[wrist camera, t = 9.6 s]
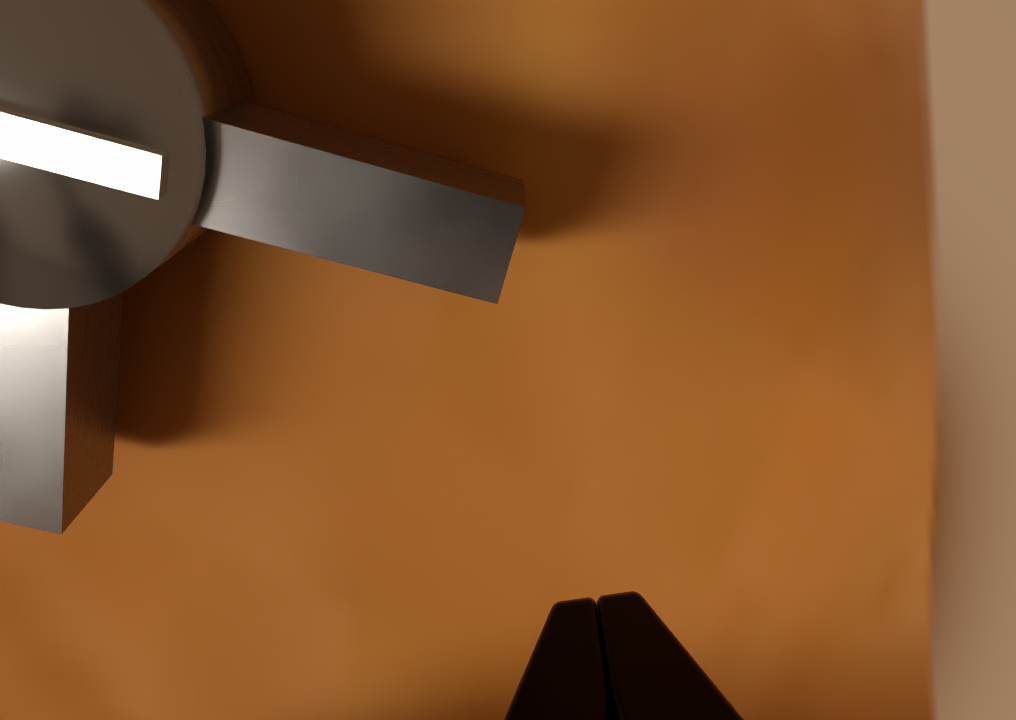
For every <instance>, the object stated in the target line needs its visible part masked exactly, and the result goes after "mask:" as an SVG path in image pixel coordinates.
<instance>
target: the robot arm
mask: <svg viewBox="0 0 1016 720" xmlns="http://www.w3.org/2000/svg"><path fill="white" fill-rule="evenodd" d="M597 608H598V609H597ZM504 720H743V718H742V717H741V716H740V715H739V713H738V712H737V711H736V710H735V709H734V707H733V706H732V705H731V704H730V703H729V701H728V700H727V699H726V698H725V696H724V695H723V694H722V693H721V692H720V690H719V689H718V688H717V687H716V686H715V684H714V683H713V682H712V681H711V679H710V678H709V677H708V676H707V675H706V673H705V672H704V671H703V670H702V668H701V667H700V666H699V665H698V664H697V662H696V661H695V660H694V659H693V658H692V656H691V655H690V654H689V653H688V651H687V650H686V649H685V648H684V647H683V645H682V644H681V643H680V642H679V641H678V639H677V638H676V637H675V636H674V634H673V633H672V632H671V631H670V630H669V628H668V627H667V626H666V625H665V624H664V622H663V621H662V620H661V619H660V617H659V616H658V615H657V614H656V613H655V611H654V610H653V609H652V608H651V607H650V605H649V604H648V603H647V602H646V600H645V599H644V598H643V597H642V596H641V595H640V594H639V593H637V592H634V591H631V592H624V593H617V594H610V595H603V596H601V597H600V598H598V601H597V604H596V602H595V601H594V599H592V598H581V599H574V600H567V601H560V602H557V603H556V604H554V605H553V607H552V609H551V611H550V613H549V615H548V618H547V620H546V622H545V625H544V627H543V629H542V632H541V634H540V636H539V639H538V641H537V643H536V646H535V648H534V650H533V653H532V655H531V657H530V660H529V662H528V664H527V667H526V669H525V672H524V674H523V676H522V679H521V681H520V683H519V686H518V688H517V690H516V693H515V695H514V697H513V700H512V702H511V704H510V707H509V709H508V711H507V714H506V716H505V718H504Z"/></svg>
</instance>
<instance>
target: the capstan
mask: <svg viewBox="0 0 1016 720" xmlns="http://www.w3.org/2000/svg"><path fill="white" fill-rule="evenodd" d="M525 208H526V207H525V196H524V185H523V180H520V179H517V178H513V177H510V176H506V175H503V174H499V173H496V172H492V171H489V170H485V169H482V168H478V167H474V166H471V165H467V164H464V163H460V162H457V161H453V160H450V159H446V158H443V157H439V156H436V155H432V154H429V153H425V152H421V151H418V150H414V149H411V148H407V147H404V146H400V145H397V144H393V143H390V142H386V141H383V140H379V139H375V138H372V137H368V136H365V135H361V134H358V133H354V132H351V131H347V130H344V129H340V128H337V127H333V126H330V125H326V124H322V123H319V122H315V121H312V120H308V119H305V118H301V117H298V116H294V115H291V114H287V113H284V112H280V111H276V110H273V109H269V108H266V107H262V106H259V105H255V104H254V98H253V93H252V88H251V83H250V80H249V77H248V74H247V70H246V67H245V64H244V61H243V59H242V57H241V55H240V52H239V50H238V48H237V46H236V43H235V41H234V39H233V38H232V36H231V34H230V33H229V31H228V29H227V27H226V26H225V24H224V22H223V21H222V19H221V18H220V17H219V15H218V14H217V12H216V11H215V10H214V8H213V7H212V6H211V4H210V3H209V2H208V0H0V521H1V522H6V523H11V524H15V525H20V526H25V527H30V528H34V529H39V530H44V531H49V532H53V533H58V534H62V533H63V532H64V531H65V529H66V528H67V527H68V526H69V525H70V524H71V522H72V521H73V520H74V519H75V518H76V516H77V515H78V514H79V513H80V512H81V511H82V509H83V508H84V507H85V506H86V505H87V503H88V502H89V501H90V500H91V499H92V498H93V496H94V495H95V494H96V493H97V492H98V490H99V489H100V488H101V487H102V486H103V485H104V483H105V482H106V481H107V480H108V479H109V477H110V476H111V475H112V469H113V454H114V439H115V423H116V408H117V393H118V377H119V362H120V347H121V331H122V316H123V301H124V291H125V290H127V289H129V288H130V287H132V286H133V285H134V284H136V283H137V282H138V281H140V280H141V279H143V278H144V277H145V276H147V275H148V274H150V273H151V272H152V271H154V270H155V269H156V268H158V267H159V266H160V265H162V264H163V263H164V262H166V261H167V260H168V259H170V258H171V257H172V256H174V255H175V254H176V253H178V252H179V251H180V250H182V249H183V248H184V247H186V246H187V245H188V244H190V243H191V242H192V241H194V240H195V239H196V238H198V237H199V236H200V235H202V234H203V233H204V232H206V231H207V230H208V229H213V230H216V231H220V232H224V233H228V234H232V235H235V236H239V237H243V238H247V239H251V240H255V241H258V242H262V243H266V244H270V245H274V246H277V247H281V248H285V249H289V250H293V251H297V252H300V253H304V254H308V255H312V256H316V257H319V258H323V259H327V260H331V261H335V262H339V263H342V264H346V265H350V266H354V267H358V268H361V269H365V270H369V271H373V272H377V273H381V274H384V275H388V276H392V277H396V278H400V279H404V280H407V281H411V282H415V283H419V284H423V285H426V286H430V287H434V288H438V289H442V290H446V291H449V292H453V293H457V294H461V295H465V296H468V297H472V298H476V299H480V300H484V301H488V302H491V303H495V304H497V303H498V300H499V297H500V293H501V290H502V286H503V283H504V279H505V276H506V273H507V269H508V266H509V262H510V259H511V256H512V252H513V249H514V245H515V242H516V238H517V235H518V232H519V228H520V225H521V221H522V218H523V215H524V211H525Z"/></svg>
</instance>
